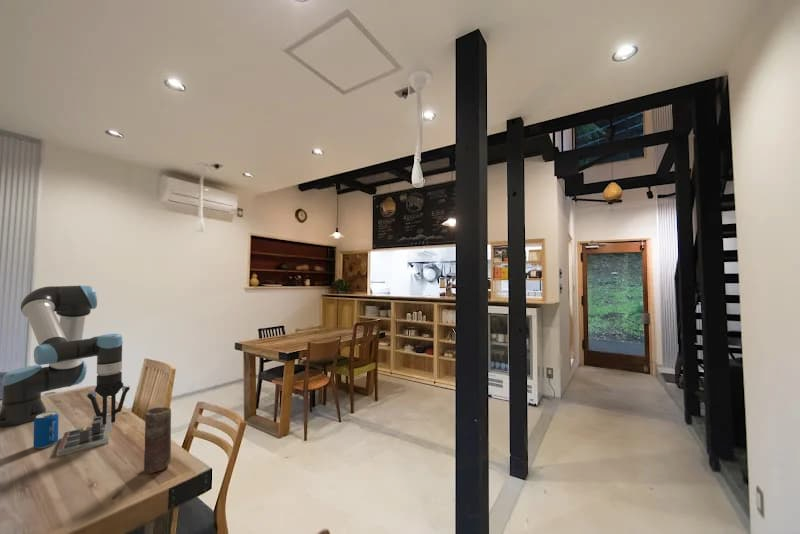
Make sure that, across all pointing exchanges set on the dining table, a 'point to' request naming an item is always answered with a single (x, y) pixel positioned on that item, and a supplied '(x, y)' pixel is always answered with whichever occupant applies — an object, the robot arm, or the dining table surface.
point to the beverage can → (46, 430)
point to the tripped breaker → (84, 434)
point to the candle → (157, 439)
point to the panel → (73, 443)
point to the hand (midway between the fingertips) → (108, 431)
